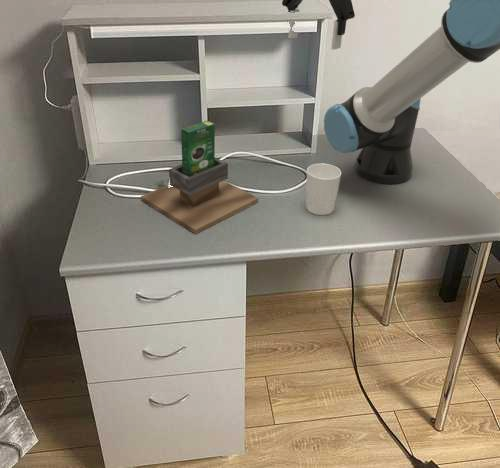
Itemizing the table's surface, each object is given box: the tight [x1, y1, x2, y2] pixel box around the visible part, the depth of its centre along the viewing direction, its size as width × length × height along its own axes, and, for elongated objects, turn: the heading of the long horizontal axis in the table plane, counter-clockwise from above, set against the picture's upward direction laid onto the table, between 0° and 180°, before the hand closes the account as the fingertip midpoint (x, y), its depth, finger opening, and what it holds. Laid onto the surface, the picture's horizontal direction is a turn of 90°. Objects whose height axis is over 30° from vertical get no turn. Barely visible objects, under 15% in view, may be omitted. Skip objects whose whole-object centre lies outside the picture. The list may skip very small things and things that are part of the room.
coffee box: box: [180, 120, 216, 177], centre depth 120 cm, size 8×3×13 cm, turn 135°
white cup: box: [305, 163, 342, 216], centre depth 124 cm, size 8×8×10 cm
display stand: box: [140, 157, 259, 235], centre depth 125 cm, size 20×20×10 cm
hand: (313, 42), depth 131 cm, fingers open, 13 cm apart
